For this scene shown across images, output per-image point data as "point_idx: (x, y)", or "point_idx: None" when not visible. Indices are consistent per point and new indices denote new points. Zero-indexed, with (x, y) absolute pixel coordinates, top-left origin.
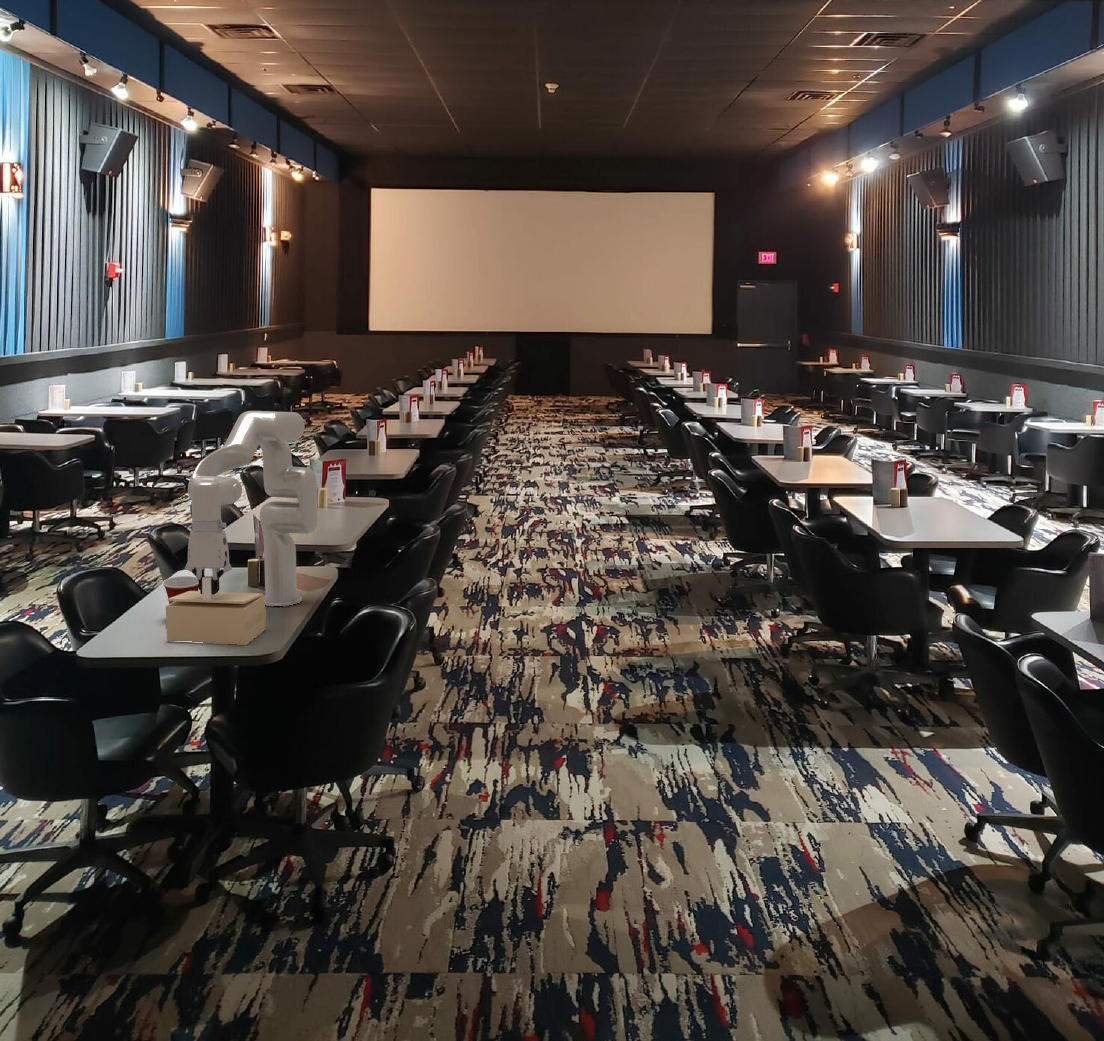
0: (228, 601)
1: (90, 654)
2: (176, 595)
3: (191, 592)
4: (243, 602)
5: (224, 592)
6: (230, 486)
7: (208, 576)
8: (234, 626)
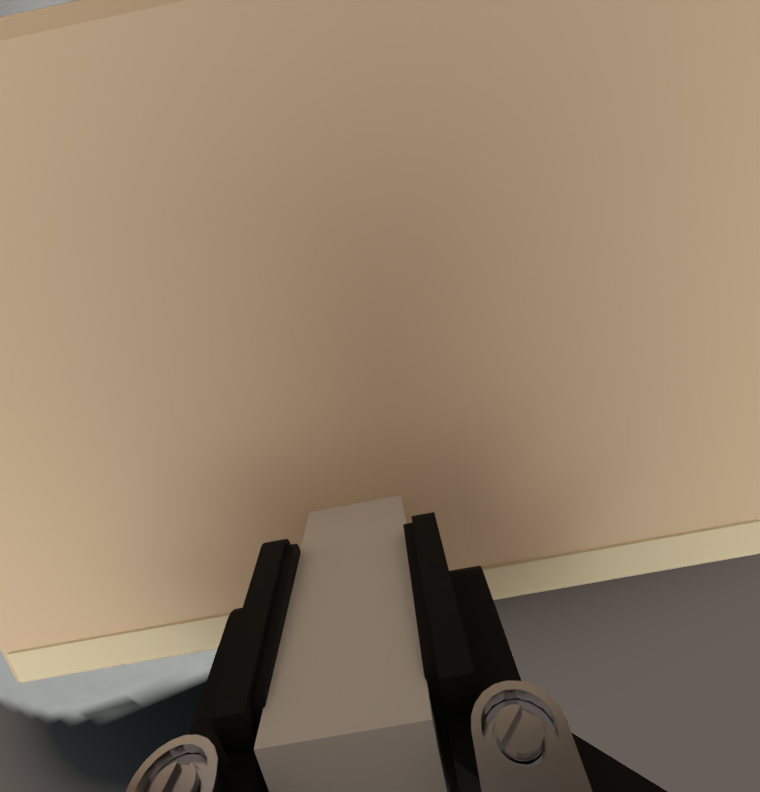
0: (604, 575)
1: (25, 701)
2: None
3: None
4: (751, 547)
5: (235, 29)
6: None
7: (318, 768)
8: None
